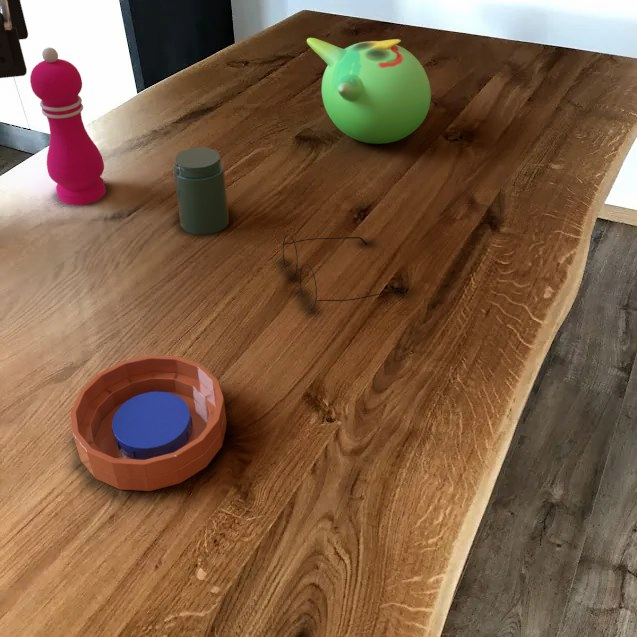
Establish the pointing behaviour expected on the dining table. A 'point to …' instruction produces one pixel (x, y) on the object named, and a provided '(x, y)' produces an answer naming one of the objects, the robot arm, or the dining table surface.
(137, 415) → the lid
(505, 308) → the dining table surface
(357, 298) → the eyeglasses
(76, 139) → the pepper mill
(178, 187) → the jar
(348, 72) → the toy bird
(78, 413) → the bowl
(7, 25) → the robot arm
